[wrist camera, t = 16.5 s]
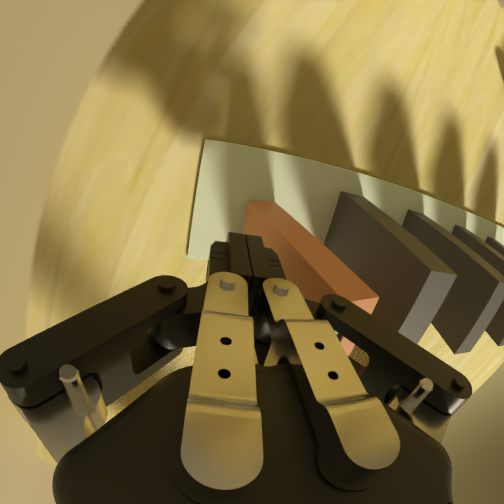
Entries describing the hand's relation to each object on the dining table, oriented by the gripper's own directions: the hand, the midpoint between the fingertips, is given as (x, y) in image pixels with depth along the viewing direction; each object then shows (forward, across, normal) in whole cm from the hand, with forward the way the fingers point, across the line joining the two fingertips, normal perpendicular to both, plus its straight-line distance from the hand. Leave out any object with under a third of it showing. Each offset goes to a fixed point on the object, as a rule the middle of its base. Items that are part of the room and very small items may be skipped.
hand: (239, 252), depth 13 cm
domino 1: (+5, -2, +2) cm, 6 cm away
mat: (+6, -14, 0) cm, 15 cm away
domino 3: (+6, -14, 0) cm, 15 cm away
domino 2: (+6, -8, 0) cm, 9 cm away
